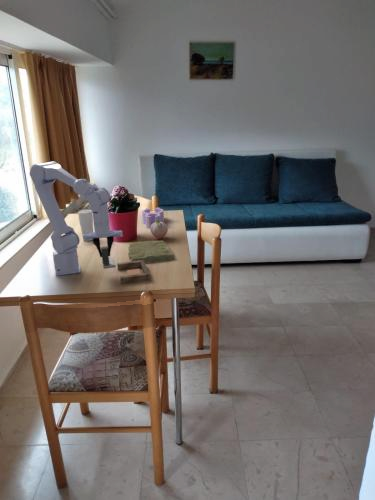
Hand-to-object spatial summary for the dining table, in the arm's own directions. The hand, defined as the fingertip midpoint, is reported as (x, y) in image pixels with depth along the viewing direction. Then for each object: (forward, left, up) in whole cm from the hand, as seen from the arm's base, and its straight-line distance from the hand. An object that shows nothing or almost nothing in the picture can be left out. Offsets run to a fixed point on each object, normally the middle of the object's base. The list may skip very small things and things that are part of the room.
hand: (105, 255), depth 142 cm
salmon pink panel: (+10, 0, -10) cm, 14 cm away
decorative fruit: (+29, +39, -10) cm, 49 cm away
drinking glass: (-6, +50, -10) cm, 51 cm away
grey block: (+1, 0, -4) cm, 4 cm away
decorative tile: (+20, +20, -10) cm, 30 cm away
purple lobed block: (+30, +67, -10) cm, 74 cm away
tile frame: (+10, 0, -9) cm, 13 cm away
